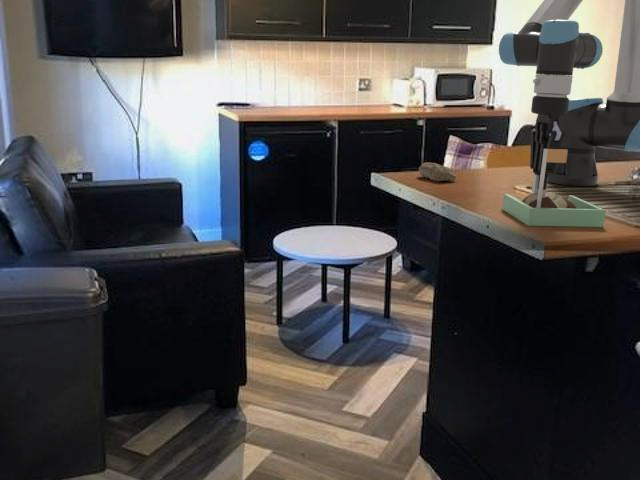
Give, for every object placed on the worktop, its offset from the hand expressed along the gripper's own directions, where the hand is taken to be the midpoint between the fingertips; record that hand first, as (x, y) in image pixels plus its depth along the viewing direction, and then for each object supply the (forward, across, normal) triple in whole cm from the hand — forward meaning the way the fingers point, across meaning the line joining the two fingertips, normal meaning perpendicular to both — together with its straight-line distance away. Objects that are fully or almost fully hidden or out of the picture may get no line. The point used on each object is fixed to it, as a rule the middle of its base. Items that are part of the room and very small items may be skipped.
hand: (537, 202), depth 152 cm
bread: (+2, +6, 0) cm, 7 cm away
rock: (+2, -37, -13) cm, 39 cm away
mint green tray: (+2, +8, 0) cm, 8 cm away
